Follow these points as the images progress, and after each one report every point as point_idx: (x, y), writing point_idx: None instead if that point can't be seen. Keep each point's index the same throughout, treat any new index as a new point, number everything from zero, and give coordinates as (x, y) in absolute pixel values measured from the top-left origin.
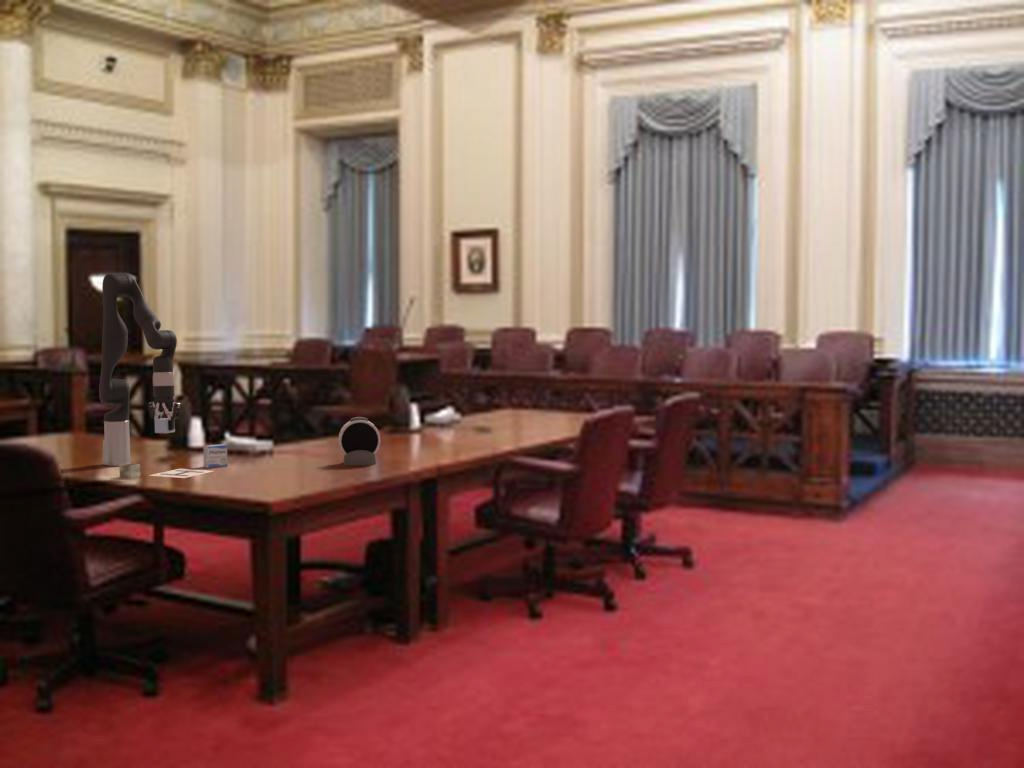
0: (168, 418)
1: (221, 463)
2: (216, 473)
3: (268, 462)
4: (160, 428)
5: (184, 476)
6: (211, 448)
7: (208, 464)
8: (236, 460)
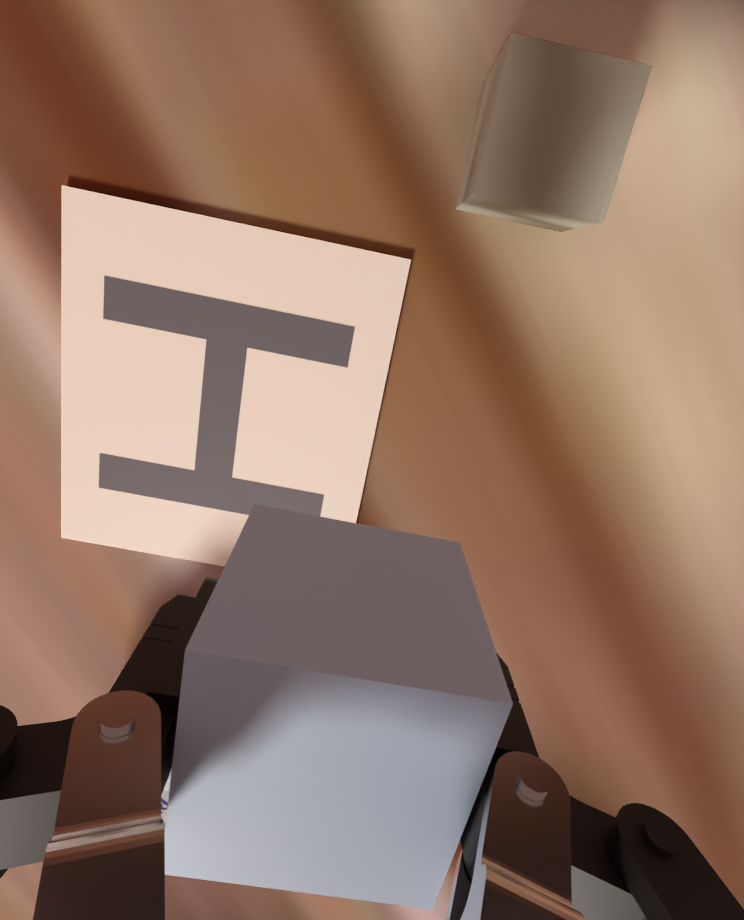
0: (148, 732)
1: None
2: (19, 486)
3: None
4: (354, 561)
5: (107, 262)
6: None
7: None
8: (208, 893)
